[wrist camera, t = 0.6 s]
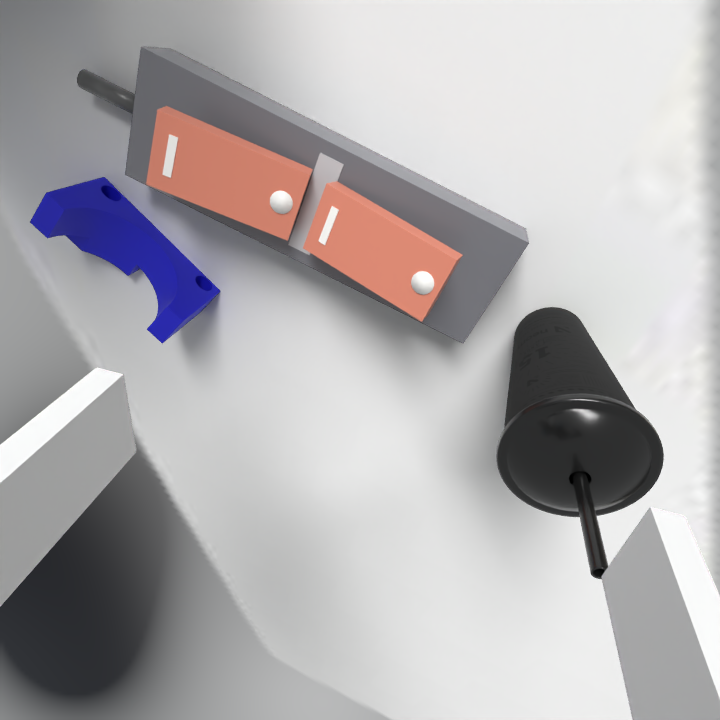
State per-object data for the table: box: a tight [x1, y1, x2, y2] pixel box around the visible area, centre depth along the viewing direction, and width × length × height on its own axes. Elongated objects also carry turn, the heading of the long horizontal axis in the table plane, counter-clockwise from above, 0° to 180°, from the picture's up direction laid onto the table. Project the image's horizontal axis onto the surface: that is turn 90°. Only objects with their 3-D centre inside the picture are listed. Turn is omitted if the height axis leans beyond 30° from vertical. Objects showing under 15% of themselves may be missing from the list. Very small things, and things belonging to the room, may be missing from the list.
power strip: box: [77, 47, 529, 343], centre depth 33 cm, size 31×8×3 cm, turn 65°
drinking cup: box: [497, 307, 664, 579], centre depth 27 cm, size 8×8×20 cm
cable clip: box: [30, 177, 220, 343], centre depth 38 cm, size 12×4×6 cm, turn 43°
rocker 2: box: [303, 181, 463, 322], centre depth 30 cm, size 9×4×2 cm, turn 64°
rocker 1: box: [146, 106, 313, 241], centre depth 30 cm, size 9×4×2 cm, turn 67°
